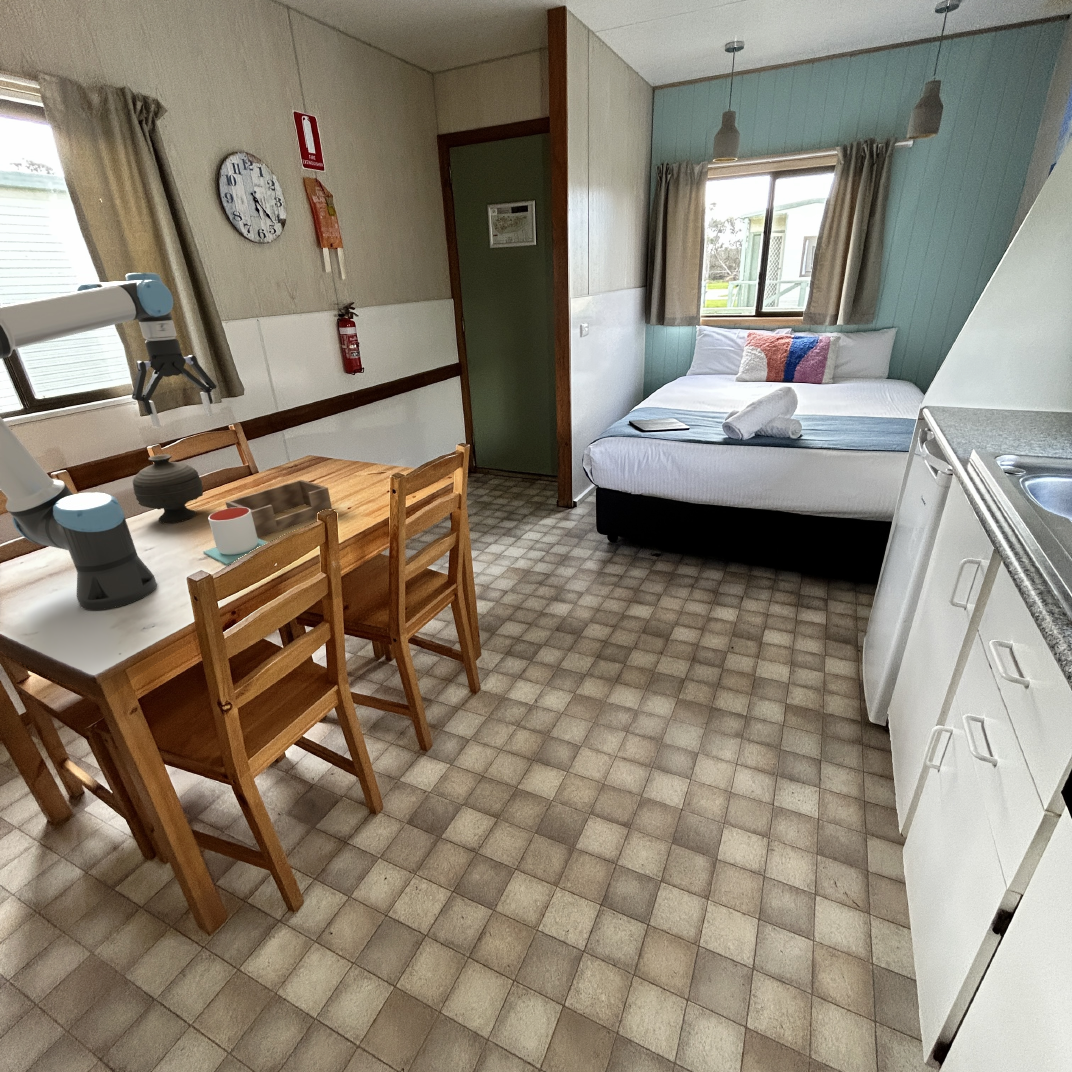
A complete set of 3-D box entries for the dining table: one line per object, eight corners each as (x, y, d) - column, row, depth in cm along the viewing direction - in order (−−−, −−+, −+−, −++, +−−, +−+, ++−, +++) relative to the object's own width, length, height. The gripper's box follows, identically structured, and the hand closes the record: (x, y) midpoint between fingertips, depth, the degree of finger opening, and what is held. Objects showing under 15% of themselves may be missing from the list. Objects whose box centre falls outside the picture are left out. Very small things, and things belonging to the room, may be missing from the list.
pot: (225, 508, 185) (201, 448, 176) (172, 533, 171) (144, 470, 162) (189, 502, 193) (166, 444, 184) (137, 526, 179) (108, 465, 170)
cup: (243, 557, 150) (233, 521, 146) (209, 555, 152) (199, 520, 148) (267, 541, 159) (258, 507, 155) (234, 540, 161) (225, 506, 157)
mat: (227, 565, 148) (226, 563, 147) (203, 553, 155) (203, 551, 155) (275, 547, 157) (274, 545, 157) (250, 536, 164) (250, 535, 164)
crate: (258, 538, 163) (251, 512, 160) (232, 527, 172) (225, 501, 168) (332, 512, 180) (327, 487, 177) (305, 503, 189) (300, 479, 186)
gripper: (111, 344, 139) (138, 432, 148) (216, 334, 157) (236, 413, 165) (100, 343, 143) (127, 428, 152) (204, 334, 161) (223, 411, 170)
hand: (184, 421), depth 159 cm, fingers open, 13 cm apart
